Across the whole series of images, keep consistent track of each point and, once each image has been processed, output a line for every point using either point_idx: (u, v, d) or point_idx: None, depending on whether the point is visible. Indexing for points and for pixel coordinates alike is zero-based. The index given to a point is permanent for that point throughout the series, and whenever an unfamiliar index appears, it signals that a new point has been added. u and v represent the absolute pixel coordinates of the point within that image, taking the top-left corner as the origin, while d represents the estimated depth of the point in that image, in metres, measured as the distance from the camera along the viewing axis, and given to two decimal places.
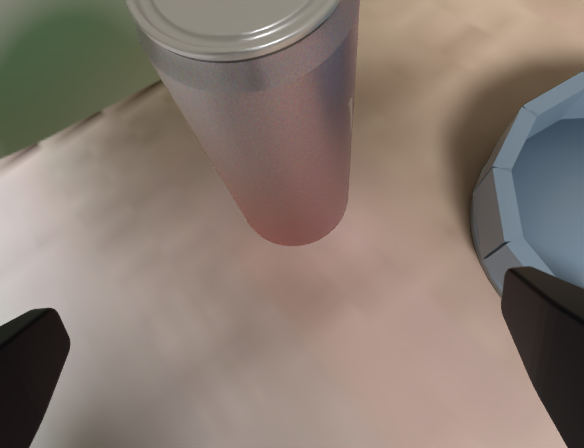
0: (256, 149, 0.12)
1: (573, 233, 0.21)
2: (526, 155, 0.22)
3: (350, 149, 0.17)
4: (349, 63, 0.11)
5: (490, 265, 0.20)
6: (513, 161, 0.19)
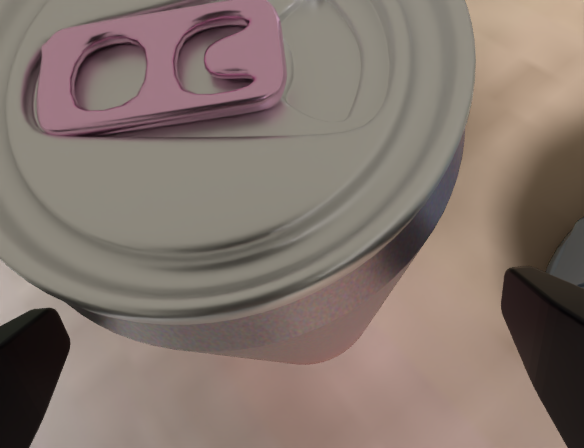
0: None
1: None
2: None
3: None
4: None
5: None
6: None
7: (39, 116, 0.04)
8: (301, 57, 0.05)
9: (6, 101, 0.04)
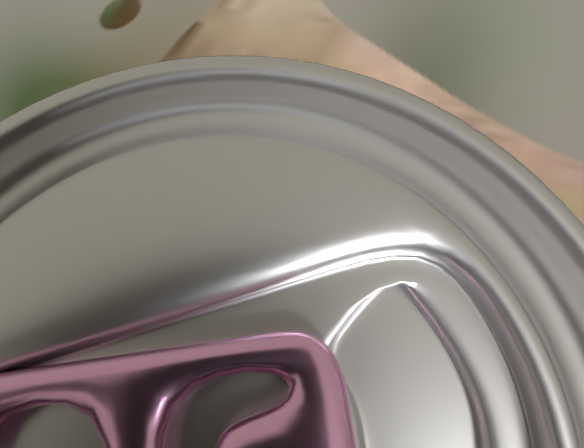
0: None
1: None
2: None
3: None
4: None
5: None
6: None
7: None
8: (376, 419, 0.03)
9: None
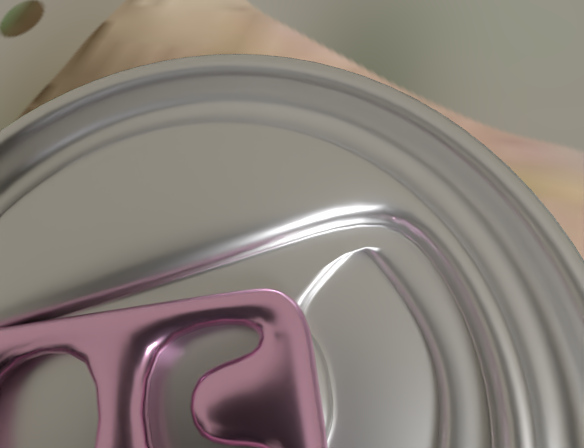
0: None
1: None
2: None
3: None
4: None
5: None
6: None
7: None
8: (342, 372, 0.03)
9: None
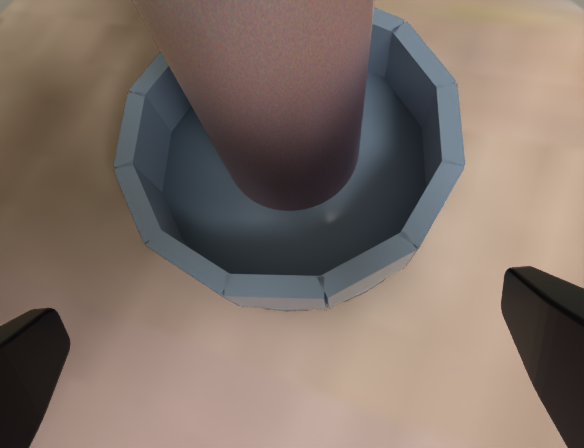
0: (234, 21, 0.08)
1: None
2: (187, 133, 0.20)
3: None
4: None
5: None
6: (132, 153, 0.17)
7: None
8: None
9: None
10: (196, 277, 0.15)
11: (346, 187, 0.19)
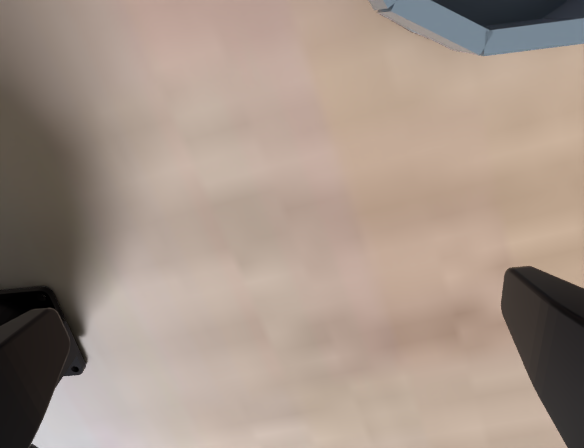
0: None
1: None
2: None
3: None
4: None
5: None
6: None
7: None
8: None
9: None
10: None
11: None
